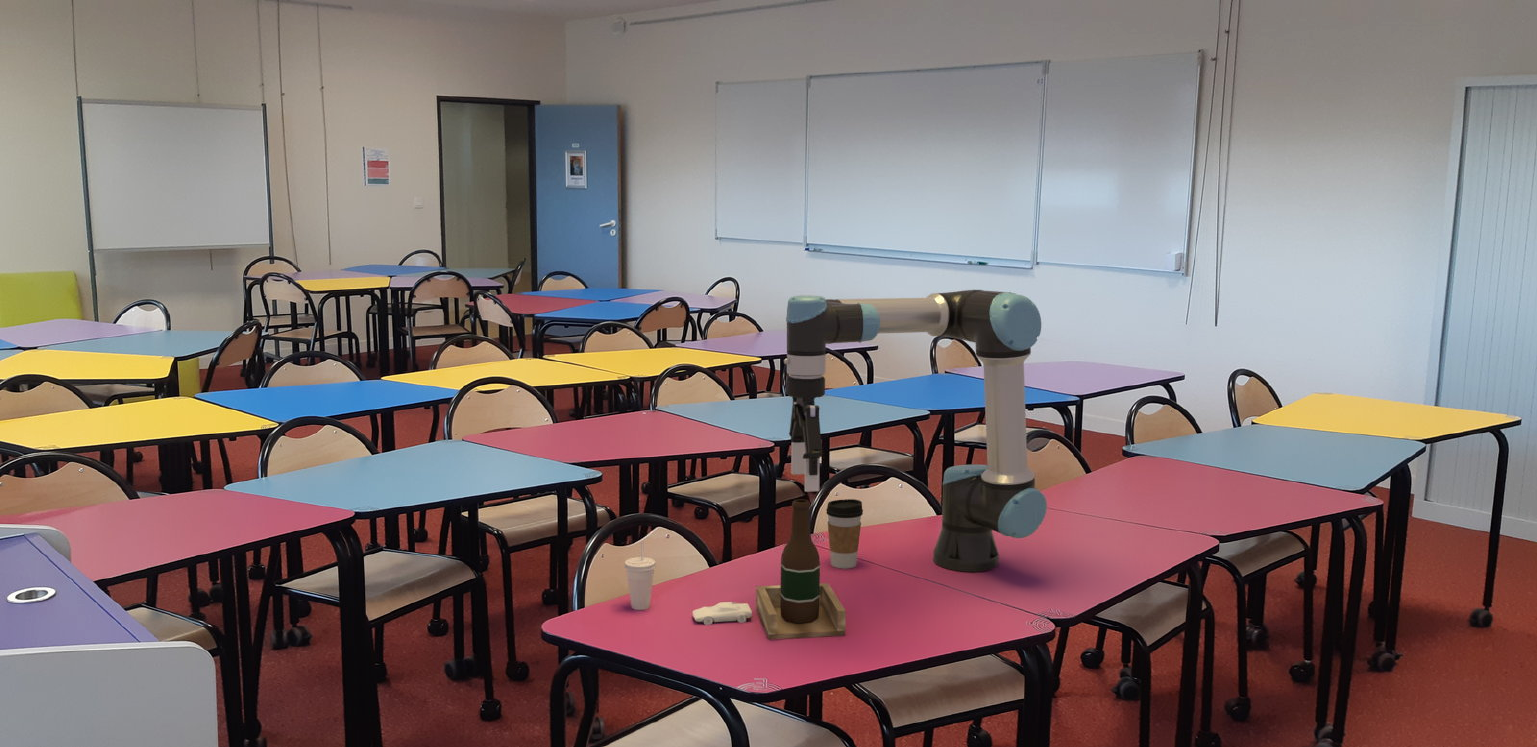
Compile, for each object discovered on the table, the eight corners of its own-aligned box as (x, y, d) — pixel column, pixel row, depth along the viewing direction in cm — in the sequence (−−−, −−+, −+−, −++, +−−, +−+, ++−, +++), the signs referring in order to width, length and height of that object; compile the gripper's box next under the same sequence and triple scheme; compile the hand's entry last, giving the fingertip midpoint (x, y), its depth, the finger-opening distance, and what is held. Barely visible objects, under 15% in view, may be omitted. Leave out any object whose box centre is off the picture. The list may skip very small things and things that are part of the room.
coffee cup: (862, 570, 251) (864, 507, 249) (826, 570, 251) (827, 506, 249) (860, 559, 259) (861, 497, 257) (824, 558, 259) (825, 497, 257)
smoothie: (662, 606, 227) (662, 541, 225) (638, 614, 222) (638, 548, 220) (642, 598, 231) (641, 534, 229) (618, 606, 227) (617, 541, 224)
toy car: (691, 617, 222) (691, 601, 222) (749, 613, 224) (749, 597, 224) (694, 627, 217) (694, 610, 216) (754, 623, 219) (754, 607, 219)
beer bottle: (820, 611, 222) (822, 496, 219) (817, 625, 215) (819, 506, 211) (782, 609, 223) (783, 494, 220) (778, 623, 215) (779, 505, 212)
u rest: (827, 606, 228) (827, 582, 227) (845, 635, 212) (845, 610, 212) (756, 609, 226) (756, 586, 225) (768, 639, 210) (769, 614, 209)
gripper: (775, 366, 224) (775, 467, 227) (799, 386, 200) (798, 499, 203) (811, 366, 225) (810, 466, 228) (839, 385, 201) (837, 497, 204)
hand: (804, 482), depth 216 cm, fingers open, 13 cm apart
